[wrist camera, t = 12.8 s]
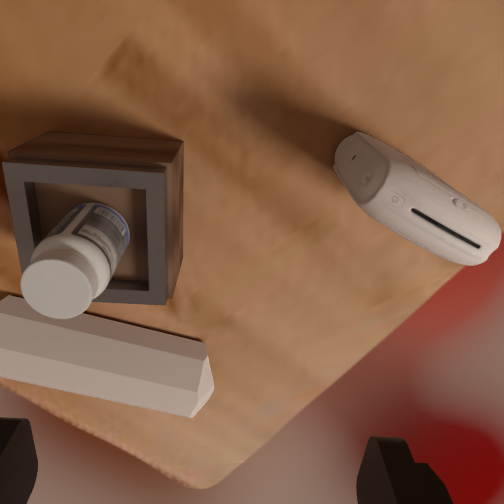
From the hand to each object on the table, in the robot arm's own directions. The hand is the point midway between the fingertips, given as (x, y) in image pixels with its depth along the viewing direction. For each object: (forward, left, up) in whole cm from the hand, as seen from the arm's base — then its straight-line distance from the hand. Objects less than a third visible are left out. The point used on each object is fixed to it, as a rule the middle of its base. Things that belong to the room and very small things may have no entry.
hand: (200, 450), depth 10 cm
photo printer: (+1, +14, -30) cm, 33 cm away
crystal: (+21, -12, -30) cm, 38 cm away
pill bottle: (+5, -9, -23) cm, 25 cm away
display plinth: (+5, -9, -29) cm, 31 cm away
